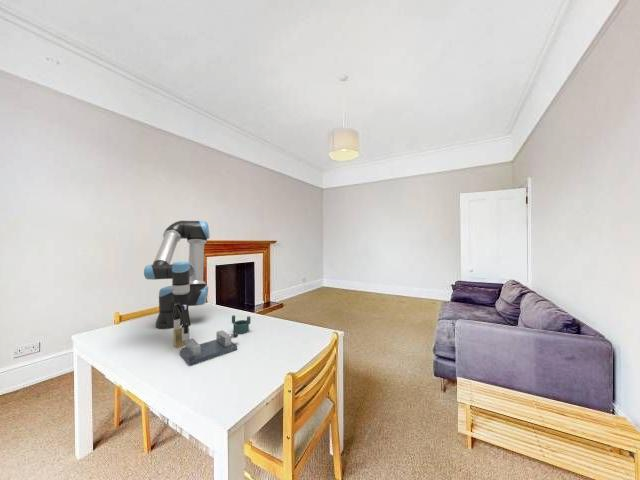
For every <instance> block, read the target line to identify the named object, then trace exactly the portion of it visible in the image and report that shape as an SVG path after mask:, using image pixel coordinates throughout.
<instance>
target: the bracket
mask: <svg viewBox="0 0 640 480" xmlns="http://www.w3.org/2000/svg"><path fill="white" fill-rule="evenodd" d="M251 320H252V319H251V316H250V315H249V316H247V317H246V319H241V320H236V315H234V314H233V315H231V324H233V328H232V329H233V331H232V332H233V333H235V332H237V333H238V335H244V334H247V333H248V332H250V331H249V330H250V329H249V325H250V324H251V322H252V321H251ZM233 333H232V334H233Z"/></svg>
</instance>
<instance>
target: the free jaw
mask: <svg viewBox="0 0 640 480" xmlns="http://www.w3.org/2000/svg"><path fill="white" fill-rule="evenodd" d="M238 336H239V334H238V333H237V332H235V333H228V332H226V331H224V330H222V329H221V330H219V331H216V336H215V337H216V339H215V340H216V341H217V342H219V343H220V344H221V345H223V346H224V347H228V346H231V342H232V339H236V338H238Z"/></svg>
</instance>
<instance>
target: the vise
mask: <svg viewBox="0 0 640 480" xmlns="http://www.w3.org/2000/svg"><path fill="white" fill-rule="evenodd" d="M235 351H238V345H237V344H235V343H234V342H232V341H231V346H228V347H224V346H223V345H221V344H220V343H219V342H217V341H216V339H214V340H209V341H206V342H203V343H199V342H197V341H196V340H195V339H194V338H189V340H186V346H184V347H180V349H179V356H180V357H181V358H182V359H183V361H185V363H186V364H187V365H188V367H191V366H194V365H197V364H200V363H203V362H206V361H209V360H212V359H215V358H217V356H218V357H220V356H223V355H225V354H226V355H227V354H229V353H231V352H232V353H233V352H235ZM214 357H215V358H214ZM211 358H212V359H211ZM208 359H209V360H208ZM205 360H206V361H205ZM202 361H203V362H202ZM199 362H200V363H199Z"/></svg>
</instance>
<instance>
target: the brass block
mask: <svg viewBox="0 0 640 480" xmlns="http://www.w3.org/2000/svg"><path fill="white" fill-rule="evenodd" d="M172 334H173V335H172V336H173V338H172V339H173V343H172V344H173V347H174V348H175V349H178V348H184V347H186V340H184V341H182V328H181V327H180V328H179V329H174V328H173V330H172ZM189 339H190V338H189ZM189 339H188V340H189Z"/></svg>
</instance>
